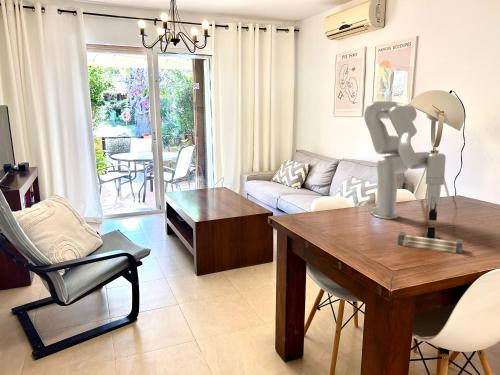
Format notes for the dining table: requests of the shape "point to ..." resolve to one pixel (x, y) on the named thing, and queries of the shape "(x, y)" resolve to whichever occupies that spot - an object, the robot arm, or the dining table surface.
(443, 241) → the striped bar with caps
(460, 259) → the dining table surface
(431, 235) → the black block
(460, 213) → the dining table surface
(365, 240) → the dining table surface
